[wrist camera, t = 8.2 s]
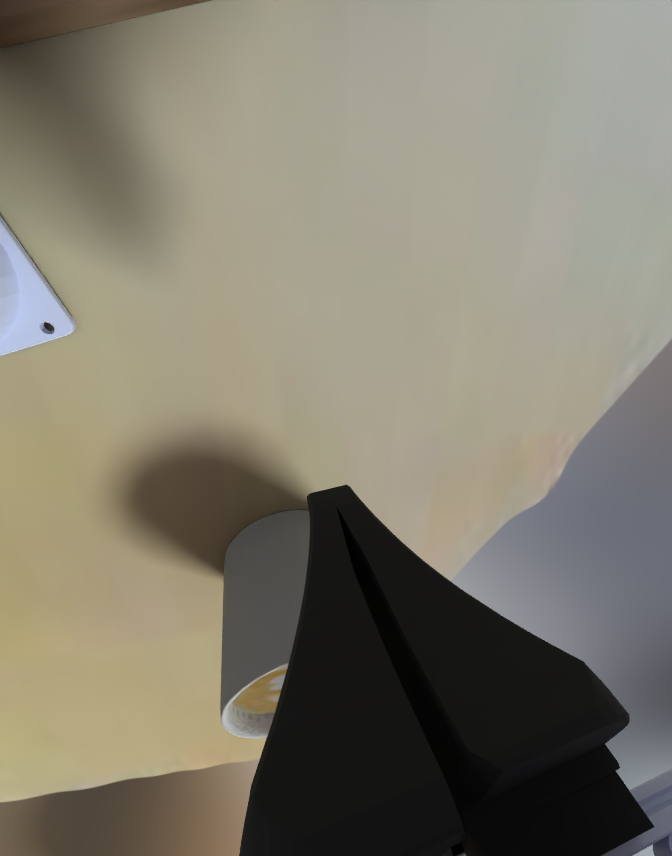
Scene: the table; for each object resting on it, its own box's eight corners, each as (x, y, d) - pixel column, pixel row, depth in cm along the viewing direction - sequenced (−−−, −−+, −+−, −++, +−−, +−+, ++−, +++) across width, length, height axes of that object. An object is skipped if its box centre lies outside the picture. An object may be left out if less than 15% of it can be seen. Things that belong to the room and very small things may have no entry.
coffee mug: (196, 570, 25) (179, 736, 17) (286, 489, 23) (315, 632, 15) (312, 611, 32) (339, 741, 24) (387, 552, 31) (444, 672, 22)
